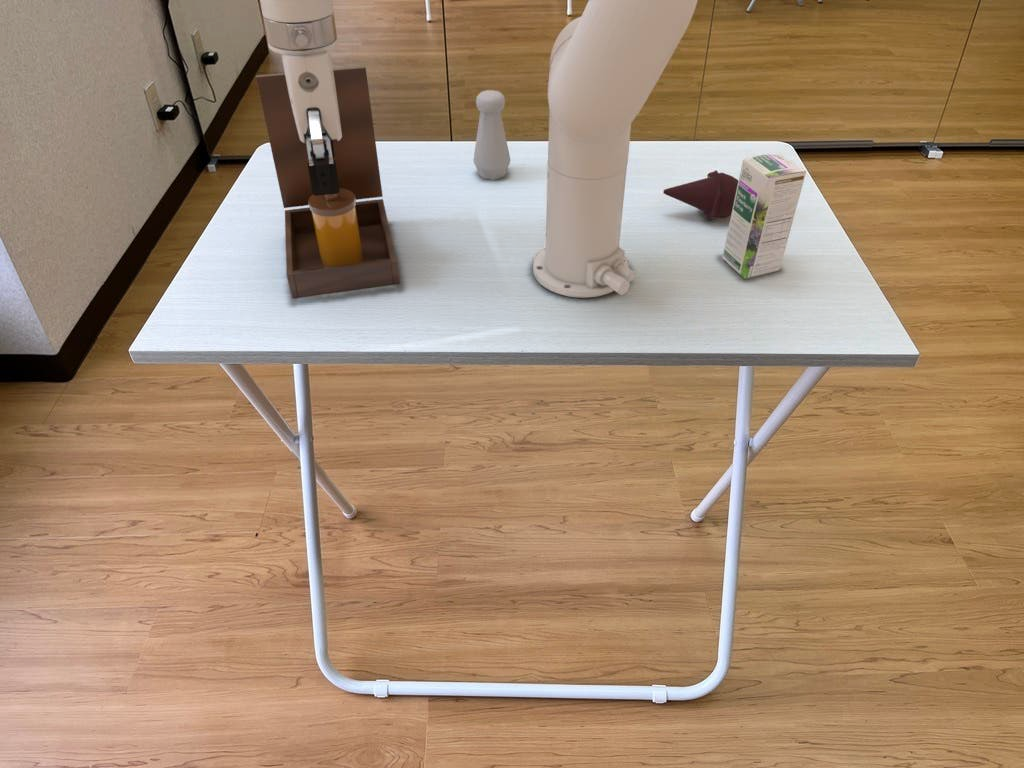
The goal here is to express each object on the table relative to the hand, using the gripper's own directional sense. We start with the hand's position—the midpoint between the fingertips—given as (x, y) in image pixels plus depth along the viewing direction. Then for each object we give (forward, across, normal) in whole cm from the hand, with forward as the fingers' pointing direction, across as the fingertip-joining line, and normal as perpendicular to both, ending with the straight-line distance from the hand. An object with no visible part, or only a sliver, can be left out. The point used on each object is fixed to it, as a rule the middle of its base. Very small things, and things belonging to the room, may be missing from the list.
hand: (324, 175), depth 96 cm
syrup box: (+12, -13, -54) cm, 57 cm away
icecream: (+12, 0, -54) cm, 56 cm away
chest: (+13, 0, -1) cm, 13 cm away
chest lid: (0, +9, 0) cm, 9 cm away
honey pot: (+12, 0, -1) cm, 12 cm away
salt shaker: (+13, +21, -26) cm, 36 cm away
